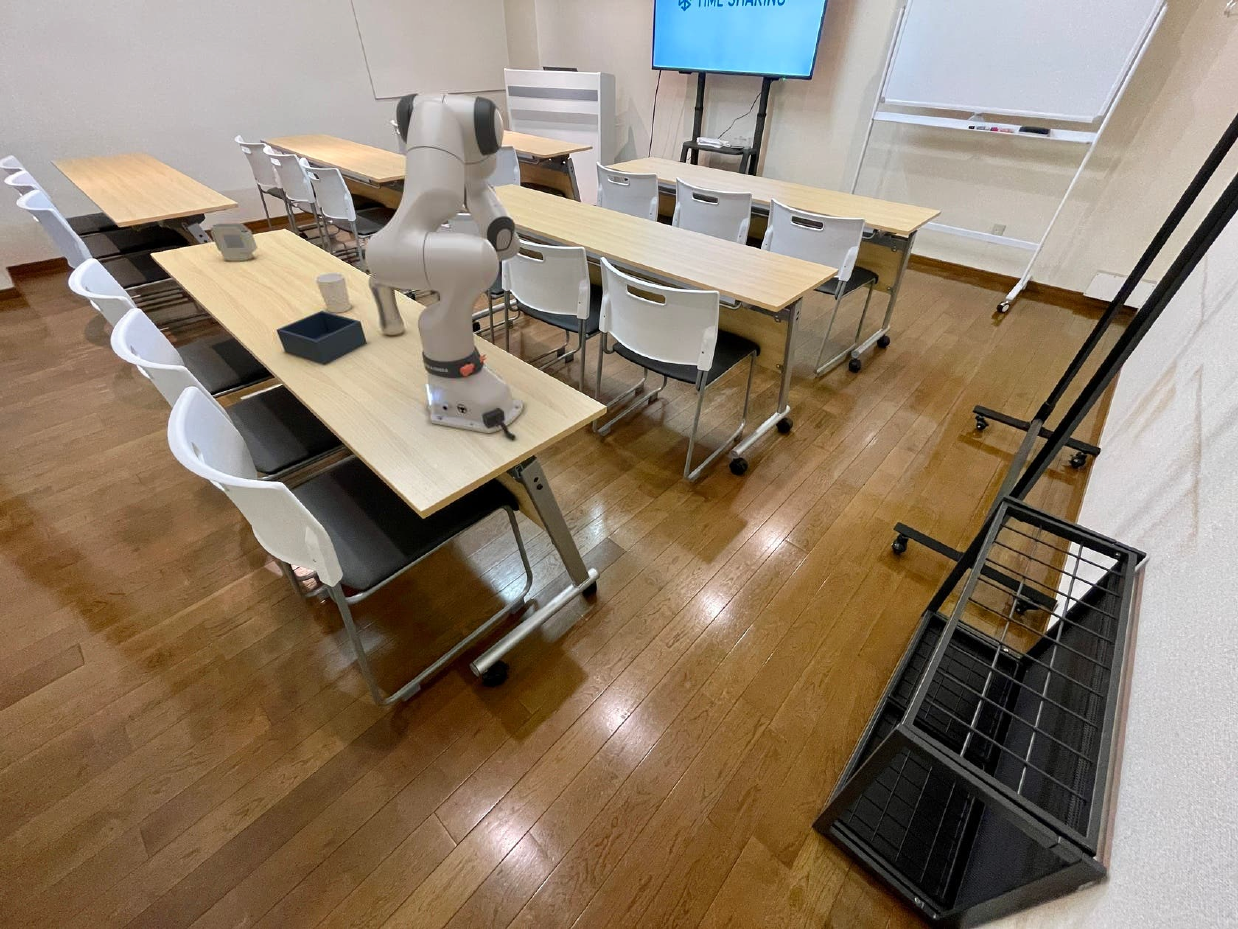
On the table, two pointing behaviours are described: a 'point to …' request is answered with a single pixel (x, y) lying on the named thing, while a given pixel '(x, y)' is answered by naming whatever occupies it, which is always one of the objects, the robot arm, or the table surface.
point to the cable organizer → (233, 241)
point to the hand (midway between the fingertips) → (421, 258)
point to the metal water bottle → (386, 307)
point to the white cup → (334, 292)
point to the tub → (322, 337)
